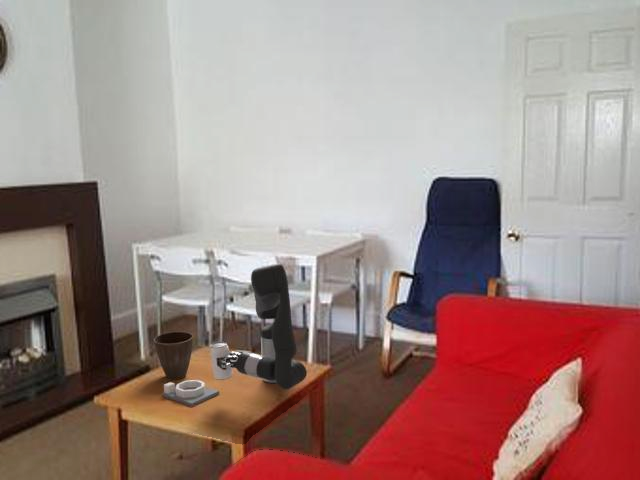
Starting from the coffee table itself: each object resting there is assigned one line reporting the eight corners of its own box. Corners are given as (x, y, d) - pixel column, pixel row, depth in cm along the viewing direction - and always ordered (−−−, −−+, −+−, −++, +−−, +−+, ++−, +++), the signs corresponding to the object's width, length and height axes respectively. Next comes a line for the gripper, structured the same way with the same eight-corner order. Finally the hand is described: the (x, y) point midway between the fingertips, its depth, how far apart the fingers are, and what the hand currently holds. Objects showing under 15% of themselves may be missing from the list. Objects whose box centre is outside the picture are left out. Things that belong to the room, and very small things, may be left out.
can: (232, 378, 213) (227, 346, 211) (213, 381, 213) (208, 349, 211) (233, 371, 220) (228, 339, 217) (215, 374, 219) (209, 342, 217)
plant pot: (186, 384, 234) (183, 344, 232) (149, 382, 237) (147, 342, 235) (201, 370, 249) (199, 332, 246) (166, 368, 252) (164, 331, 249)
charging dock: (189, 384, 235) (189, 374, 234) (219, 394, 225) (218, 383, 224) (162, 396, 224) (161, 385, 224) (191, 406, 215) (191, 395, 214)
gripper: (267, 347, 212) (231, 339, 222) (237, 360, 201) (201, 350, 211) (268, 368, 213) (232, 359, 223) (239, 382, 202) (203, 371, 212)
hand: (218, 355), depth 217 cm, fingers closed on can, 4 cm apart
